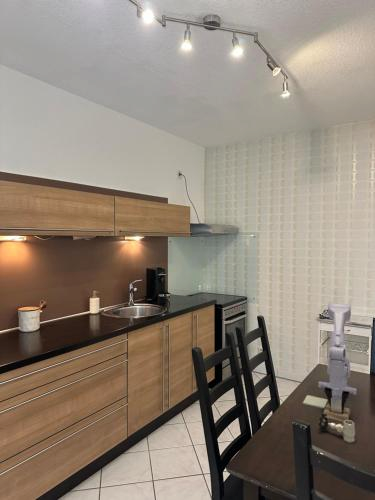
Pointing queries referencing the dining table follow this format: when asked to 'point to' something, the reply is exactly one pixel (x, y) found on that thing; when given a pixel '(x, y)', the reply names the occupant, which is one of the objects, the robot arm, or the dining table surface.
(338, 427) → the valve
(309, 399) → the sage pad
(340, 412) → the steel peg
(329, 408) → the socket block
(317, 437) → the dining table surface
